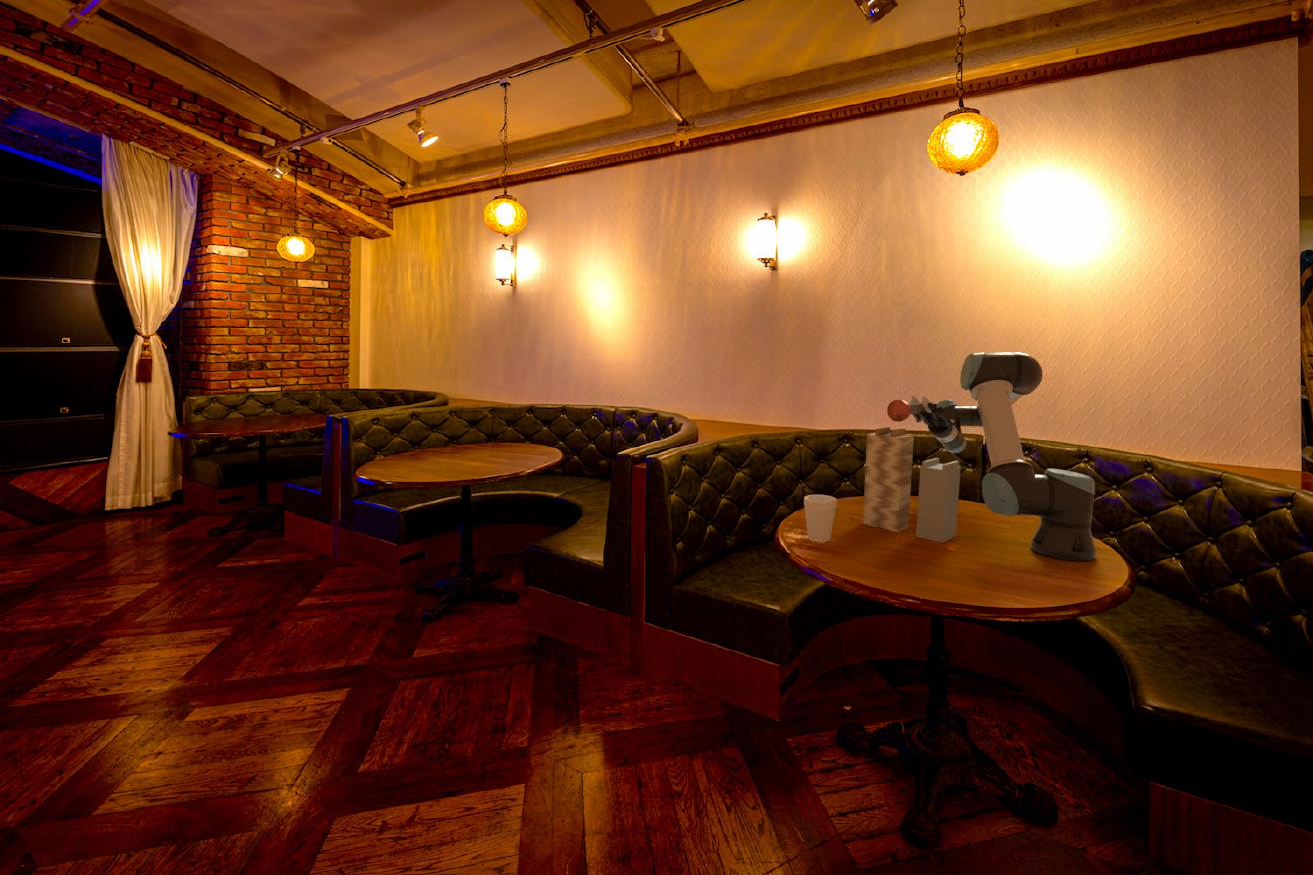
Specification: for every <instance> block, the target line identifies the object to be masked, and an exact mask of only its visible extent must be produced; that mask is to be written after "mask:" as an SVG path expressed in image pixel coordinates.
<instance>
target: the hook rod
mask: <svg viewBox="0 0 1313 875" xmlns="http://www.w3.org/2000/svg"><path fill="white" fill-rule="evenodd" d="M930 403H932V404H934V402H933V401H930ZM922 412H928V411H927V410H926V409H925V408H924V407H923V406H922V404H921V401H919V402H917V403H910V402H909V403H908V402H907V401H905V400H903V399H895V400H892V401H890V403H888V405H887V408H886V414H887V416H888V418H890V420H891V421H893V422H904V421H906V420H907V419H908V418H909V417H910V415H913V414H916V413H922Z"/></svg>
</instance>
